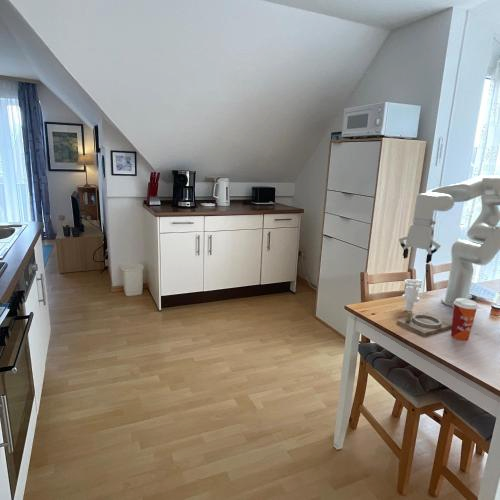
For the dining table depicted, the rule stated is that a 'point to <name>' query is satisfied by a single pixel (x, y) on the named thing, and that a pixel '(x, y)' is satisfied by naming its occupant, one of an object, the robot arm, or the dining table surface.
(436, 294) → the dining table surface
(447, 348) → the dining table surface
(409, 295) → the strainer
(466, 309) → the coffee cup
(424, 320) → the locating board
